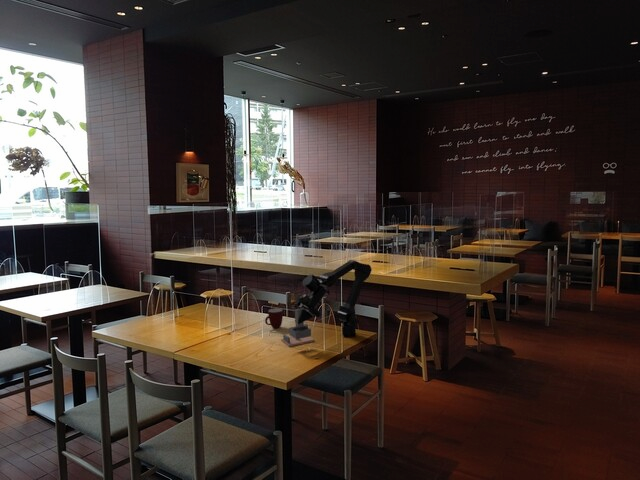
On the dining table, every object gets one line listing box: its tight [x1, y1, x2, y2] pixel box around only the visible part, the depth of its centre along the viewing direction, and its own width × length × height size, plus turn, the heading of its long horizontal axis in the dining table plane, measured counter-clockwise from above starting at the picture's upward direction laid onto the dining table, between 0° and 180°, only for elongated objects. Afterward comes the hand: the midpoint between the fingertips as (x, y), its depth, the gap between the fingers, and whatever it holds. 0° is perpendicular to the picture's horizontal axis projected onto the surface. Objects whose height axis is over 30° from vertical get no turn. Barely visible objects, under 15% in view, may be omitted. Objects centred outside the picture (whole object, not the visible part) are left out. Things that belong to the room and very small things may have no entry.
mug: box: [264, 307, 284, 330], centre depth 267 cm, size 10×8×10 cm
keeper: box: [280, 333, 315, 348], centre depth 245 cm, size 14×10×4 cm
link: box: [288, 308, 312, 339], centre depth 233 cm, size 8×8×13 cm
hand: (296, 322), depth 232 cm, fingers closed on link, 3 cm apart
